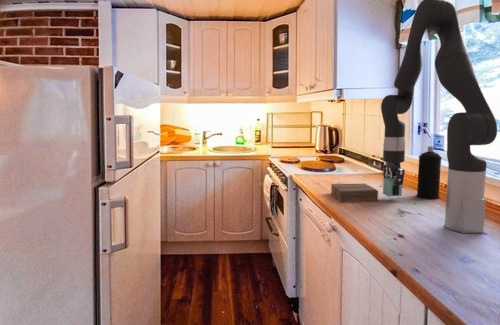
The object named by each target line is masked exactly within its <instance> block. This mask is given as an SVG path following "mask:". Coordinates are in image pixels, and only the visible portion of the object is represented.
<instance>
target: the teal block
mask: <svg viewBox="0 0 500 325" xmlns="http://www.w3.org/2000/svg"><path fill="white" fill-rule="evenodd" d="M392 190H393V180H392V179H391V178H384V177H383V186H382V194H383V195H385V196H386V197H402V195H403V184H402V185H399V195H396V196H394V195H393V194H392Z"/></svg>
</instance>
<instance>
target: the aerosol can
mask: <svg viewBox="0 0 500 325" xmlns="http://www.w3.org/2000/svg"><path fill="white" fill-rule="evenodd" d="M442 159H443V157H442V156H441V155H440V154H439V153H437V152H434V146H431V145H428V146H427V151H425V152H422V153H421V154H420V155H419V156H418V169H417V170H418V171H417V173H418V174H417V175H418V176H417V190H416V191H417V192H416V195H415V196H416V197H417V198H418V199H425V200H438V199H440V184H441V182H440V181H441V166H442Z"/></svg>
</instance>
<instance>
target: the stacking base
mask: <svg viewBox="0 0 500 325" xmlns="http://www.w3.org/2000/svg"><path fill="white" fill-rule="evenodd" d="M331 195H332V196H334V197H335V199H337V200H338V201H339V202H341V203H352V202H353V203H354V202H355V203H357V202H360V203H361V202H378V201H379V200H378V198H379V190H378V189H376V188H375V187H372V186H370V185H368V184H366V183H333V184H331Z"/></svg>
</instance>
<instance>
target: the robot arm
mask: <svg viewBox="0 0 500 325" xmlns="http://www.w3.org/2000/svg"><path fill="white" fill-rule="evenodd" d="M409 30H410V31H409V34H408V39H407V43H406V47H405V51H404V54H403V55H404V56H403V58H402V62H401V63H400V66H399V69H398V72H397V74H396V77H395V78H394V81H393V82H394V83H393V86H394V87H395V88H396V89H397V90H398V92H397V94H389V95H385V96H384V97H383V99H382V101H381V104H380V111H381V115H382V119H383V120H382V121H383V124H384V139H383V149H382V153H383V154H382V160H383V162H384V163H386V164H383V165H382V174H383V175H382V176H383V179H384V178H391V179H392V180H393V190H392V194H393V195H394V196H393V197H397V196H396V195H399V185H402V186H403V183H404V178H405V177H404V176H405V171H406V170H405V168H401V163H404V162H405V159H406V158H405V157H406V156H405V155H406V152H405V151H406V139H405V138H406V136H405V135H406V123H405V122H404V121H402V120H400V119H399V115H404V114H405V113H407V112H408V111H409V110H410V108H411V106H412V105H413V104H412V103H413V98H414V92H415V86H416V84H417V81H418V79H419V77H420V75H421V73H422V68H423V56H422V42H423V37H424V35H425V33H426V31H432V32H435V33H436V34H437V36H438V38H439V42H440V46H439V49H438V51H437V53H436V56H435V59H434V68H435V71H436V74H437V78H438V80H439V82H440V85H441V86H442V87H443V88H444V89H445V90H446V91H447V92H448V93H449V94H450V95H451V96H453V97H454V98H455V99H456V100H457V101H458V102H459V103H460V104H461V105H462V107H463V108H464V110H465V112H456V113H454V114H453V115H452V116H451V117H450V119H449V120H448V122H447V127H446V128H447V130H446V158H447V162H448V163H447V164H448V167H447V170H448V171H447V179H446V180H447V182H446V183H447V184H446V197H445V214H444V215H445V216H444V227H445V228H446V229H448V230H452V231H455V232H459V233H461V234H474V233H477V234H478V233H479V234H480V233H484V228H485V226H484V225H485V213H486V201H487V200H486V199H485V190H486V189H485V188H486V186H485V185H486V177H487V176H486V175H487V174H486V173H487V161H486V160H485V159H483V158H480V157H477V156H475V155H474V154H473V153H472V152H471V146H486V145H490V144H492V143H493V142H494V141H495V140H496V138H497V135H498V124H497V120H496V117H495V116H494V113H493V111H492V109H491V108H490V106H489V104H488V102H487V100H486V98H485V96H484V93H483V91H482V89H481V87H480V84H479V81H478V78H477V77H476V74H475V71H474V67H473V63H472V62H471V59H470V56H469V52H468V51H467V48H466V45H465V42H464V39H463V36H462V33H461V28H460V23H459V19H458V13H457V10H456V8H455V6H454V4H453V3H451V2H449V1H446V0H422V1H420V3H419V4H418V6H417V8H416V9H415V12H414V15H413V18H412V22H411V26H410V29H409Z"/></svg>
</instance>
